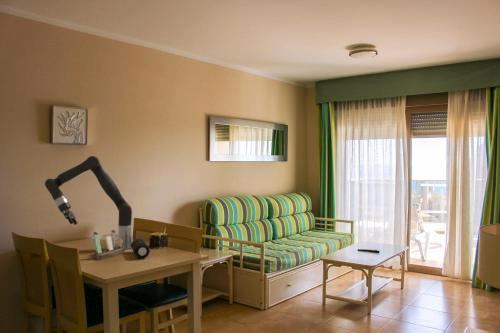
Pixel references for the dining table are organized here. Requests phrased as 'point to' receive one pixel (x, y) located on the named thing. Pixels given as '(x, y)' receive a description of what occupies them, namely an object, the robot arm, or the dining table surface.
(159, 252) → the dining table surface
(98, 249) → the green lever
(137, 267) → the dining table surface
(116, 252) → the switch bank
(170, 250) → the dining table surface
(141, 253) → the portable speaker
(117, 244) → the steel lever
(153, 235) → the candle
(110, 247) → the cream paddle
